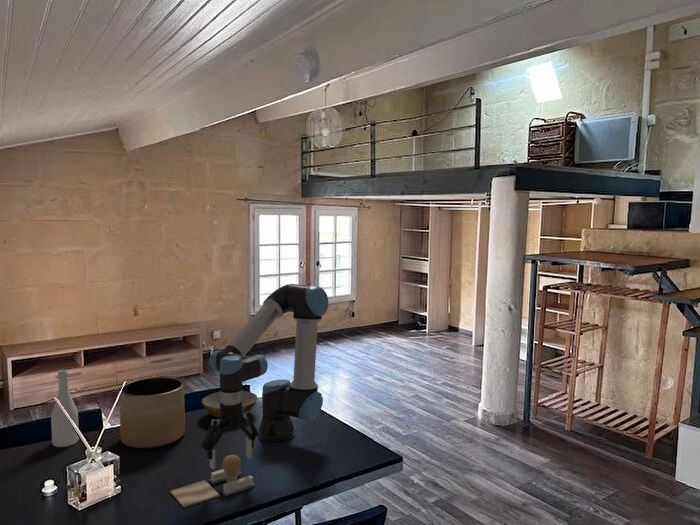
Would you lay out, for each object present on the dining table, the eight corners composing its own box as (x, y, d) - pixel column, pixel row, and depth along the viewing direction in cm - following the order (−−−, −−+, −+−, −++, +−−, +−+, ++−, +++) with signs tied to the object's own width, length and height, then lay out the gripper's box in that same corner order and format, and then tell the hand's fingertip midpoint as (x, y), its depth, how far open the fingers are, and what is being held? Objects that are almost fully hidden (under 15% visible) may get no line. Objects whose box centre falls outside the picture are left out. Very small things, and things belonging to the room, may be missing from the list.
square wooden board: (170, 492, 176) (170, 490, 176) (204, 481, 183) (204, 479, 183) (183, 508, 166) (183, 506, 166) (219, 496, 174) (219, 494, 174)
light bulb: (225, 489, 178) (224, 461, 177) (220, 481, 183) (220, 453, 182) (243, 485, 181) (243, 457, 180) (238, 477, 186) (238, 450, 185)
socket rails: (209, 480, 184) (209, 472, 183) (237, 471, 190) (237, 463, 190) (225, 496, 174) (225, 487, 173) (254, 486, 180) (254, 477, 180)
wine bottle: (46, 445, 211) (43, 372, 208) (67, 436, 219) (64, 366, 217) (63, 449, 207) (60, 375, 204) (84, 440, 216) (81, 368, 213)
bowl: (268, 415, 244) (268, 398, 244) (221, 431, 226) (221, 413, 225) (237, 402, 262) (237, 386, 261) (191, 415, 243) (191, 398, 243)
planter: (198, 432, 225) (197, 382, 223) (151, 456, 202) (149, 400, 200) (155, 421, 236) (154, 373, 234) (106, 442, 214) (105, 389, 212)
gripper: (200, 412, 169) (200, 476, 170) (268, 398, 184) (268, 456, 186) (191, 406, 175) (191, 468, 176) (258, 392, 190) (257, 449, 192)
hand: (230, 462), depth 181 cm, fingers open, 13 cm apart
